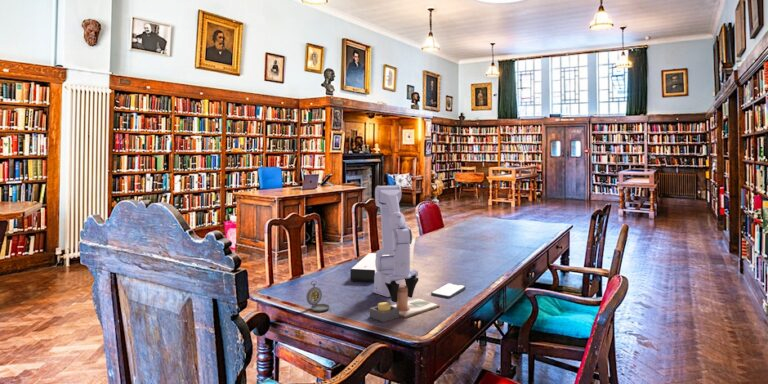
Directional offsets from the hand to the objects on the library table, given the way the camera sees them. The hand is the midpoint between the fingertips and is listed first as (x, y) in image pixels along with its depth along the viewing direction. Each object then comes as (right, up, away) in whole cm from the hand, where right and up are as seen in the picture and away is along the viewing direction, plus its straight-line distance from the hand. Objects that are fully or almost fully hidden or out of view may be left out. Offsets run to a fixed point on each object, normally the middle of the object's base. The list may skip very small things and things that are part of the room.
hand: (402, 299), depth 161 cm
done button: (-6, -3, -5) cm, 9 cm away
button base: (-6, -5, -5) cm, 10 cm away
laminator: (-13, -1, +55) cm, 56 cm away
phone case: (+20, -3, +23) cm, 31 cm away
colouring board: (+3, -4, +3) cm, 6 cm away
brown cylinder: (0, -4, 0) cm, 4 cm away
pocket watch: (-31, -5, +4) cm, 31 cm away
